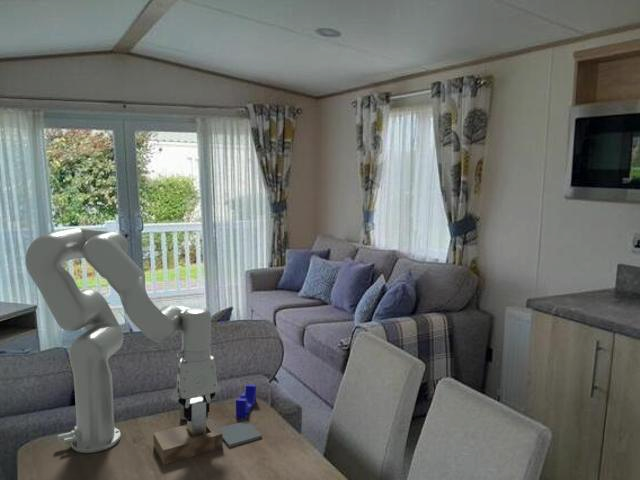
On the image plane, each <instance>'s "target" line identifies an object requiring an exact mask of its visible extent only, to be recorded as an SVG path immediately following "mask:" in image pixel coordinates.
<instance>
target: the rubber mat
mask: <svg viewBox="0 0 640 480" xmlns="http://www.w3.org/2000/svg"><path fill="white" fill-rule="evenodd" d="M217 428H218V427H217ZM218 429H219V430H220V432H221V433H222V442H224V443H225V444H226V446H227V447H228V448H232V447H236V446H239V445H243V444H247V443H248V442H249V443H250V442H253V441H256V440H259V439H262V438H263V435H262V434H261V433H260V431H259V430H257V428H256V427H255V426H254V425H253V424H252V423H251V422H250V421H249V420H245V421H240V422H237V423H233V424H229V425H226V426H225V425H224V426H223V427H219V428H218Z"/></svg>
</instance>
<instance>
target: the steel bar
mask: <svg viewBox="0 0 640 480" xmlns="http://www.w3.org/2000/svg"><path fill="white" fill-rule="evenodd" d="M190 407H191V421H190V422H188V420H186V425H187V431H188V433H189V434H190V436H191V437H192V438H193V437H196V436H200V435H204V434H206V419H207V417H206V401H205V400H204V399H203V398H202V397H196V398H192V399H191V400H190Z"/></svg>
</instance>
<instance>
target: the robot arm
mask: <svg viewBox="0 0 640 480" xmlns="http://www.w3.org/2000/svg"><path fill="white" fill-rule="evenodd" d="M129 249H130V248H129V242H128V240H127V239H126V237H124V236H123V234H121V233H119V232H116V231H110V230H100V229H89V228H79V227H78V228H77V227H76V228H75V227H74V228H73V227H72V228H65V229H60V230H55V231H51V232H47V233H44V234H42V235H40V236H38V237H36V238H35V239H34V240H33V241H32V242H31V243H30V245H29V247H28V248H27V250H26V253H25V258H24V259H25V267H26V270H27V272H28V274H29V276H30V278H31V280H32V281H33V282H34V284H35V285H36V287H37V289H38V290H39V292H40V294H41V295H42V298H43V299H44V301H45V303H46V305H47V308H49V310H50V313H51V315H52V316H53V318H54V320H55V321H56V323H57V325H58V327H60V329H61V330H63V331H65V332H68V333H72V332H77V331H79V330H82V329H83V328H84V332H83V333H82V334H80V335H79V336H78V337H76V338H75V339H74V341H72V343H71V345H70V347H69V351H68V358H69V362H70V365H71V370H72V376H73V386H74V399H75V400H74V402H75V415H76V416H75V417H76V418H75V419H76V421H75V422H76V425H74V429H72V430H70V432H69V431H68V432H64V433H60V434H57V439H58V443H61V442H63V444H64V445H66V444H71V448H72V450H73V451H75V452H77V453H82V454H89V453H90V454H92V453H98V452H101V451H104V450H108V449H109V448H112V447H113V446H115V445H116V444H117V443H118V442H119V441H120V439H121V436H122V435H121V430H120V429H118V428H117V427H115V415H114V413H115V412H114V411H115V409H114V408H115V407H114V393H113V392H114V389H113V375H112V371H111V369H110V366H109V358H111V356H113V355H114V354H115V353H116V352H117V351H119V350H120V349H121V347H122V345H123V343H124V332H123V329H122V327H121V326H120V323H119V322H118V320H117V318H116V316H115V314H114V312H113V311H112V309H111V307H110V305H109V303H108V301H107V300H106V298H105V297H104V296H103V295H102V294H101V293H100V292H99V291H96V290H95V289H89V288H88V289H82V290H80V288H79V286H78V285H77V283H76V281H75V279H74V277H73V276H72V274H71V273H70V272H69V271H67V269H65V268H64V267H63V266H62V265H63V263H65V262H69V261H71V260H75V259H78V258H79V259H85V261H86V262H87V263H88V265H90V266H91V268H93V269H94V271H96V273H98V274H99V276H100V277H102V279H103V280H105V282H107V284H108V285H109V286H110V287H111V288H112V289H113V290H114V291H115V292H116V293H117V294H118V296H119V299H120V301H121V304H122V306H123V309H124V311H125V313H126V315H127V316H128V319H129V320H130V321H131V323H133V324H134V326H135V327H137V329H138V330H139V331H140V332H141V333H142V334H143V335H144V336H146V338H148V339H150V340H151V341H153V342H156V343H164V342H168V341H170V340H171V339H172V338H173V337H174V336H175V335H176V334H178V333H179V332H181V349H180V351H178V352H177V353H176V358H178V359H179V358H180V359H179V361H178V368H177V371H178V374H176V376H177V377H176V387H175V389H174V390H173V391H172V394H171V395H170V398H171V400H172V401H174V402H176V403H178V404H179V403H180V404H181V405H183V406H184V417H185V418H186V419H187V420H188V422H190V421H191V407H190V400H191V398H195V397H199V396H203V398H204V400H205V401H206V418H208V417H209V413H210V403H211V402H212V399H214V397H215V396H216V394H217V393H219V392H220V391H221V390H222V387H221V385H220V384H219V383H218V380H217V369H216V362H215V358H214V356H213V355H211V345H212V344H211V343H212V339H211V338H212V337H211V334H212V332H211V331H212V328H211V327H212V326H211V325H212V324H211V323H212V321H211V320H212V319H211V318H212V316H211V312H210V310H208V309H207V308H205V307H185V306H183V305H182V306H181V305H179V304H178V305H177V304H168V305H164V307H162V308H161V309H159V308H158V306H157V305H156V304H155V303H154V302H153V301H152V300H151V298H150V296H149V295H148V293H147V290H146V274H145V272H144V270H143V269H141V268H140V266H139V265H138V264H137V263H136V262H135V261H134V260H133V259H132V258H131V257H130V256H129V255H128V252H129ZM179 393H180V396H181V397H179ZM187 420H186V421H187Z"/></svg>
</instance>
